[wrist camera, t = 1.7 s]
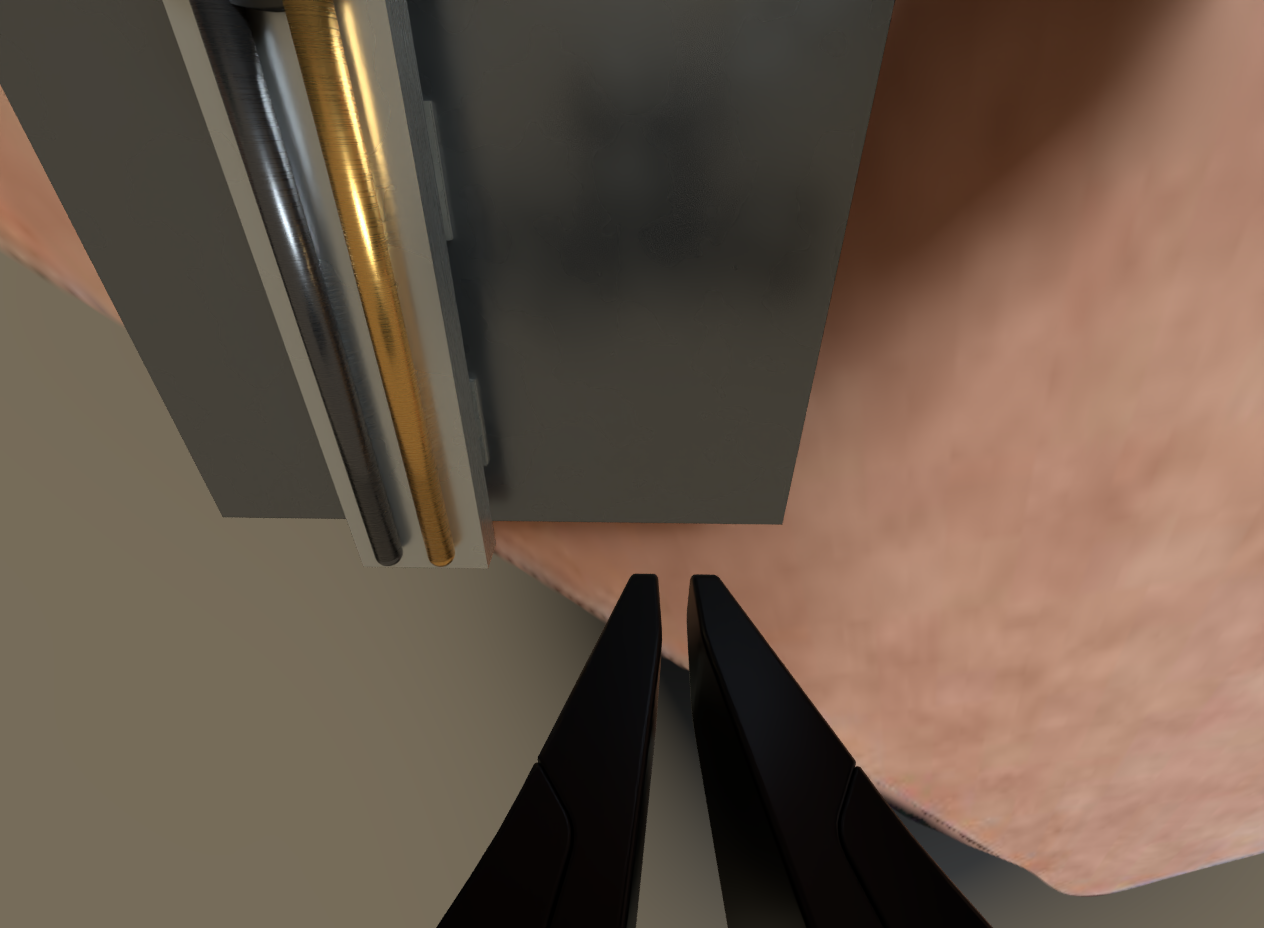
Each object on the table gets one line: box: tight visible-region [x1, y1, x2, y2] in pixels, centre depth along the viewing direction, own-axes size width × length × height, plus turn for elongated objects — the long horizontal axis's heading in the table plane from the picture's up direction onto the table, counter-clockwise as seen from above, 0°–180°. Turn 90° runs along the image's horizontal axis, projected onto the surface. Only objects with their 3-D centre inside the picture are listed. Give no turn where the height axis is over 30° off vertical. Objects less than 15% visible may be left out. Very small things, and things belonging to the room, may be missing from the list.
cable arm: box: [163, 0, 496, 569], centre depth 13 cm, size 4×18×3 cm, turn 179°
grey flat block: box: [0, 0, 895, 524], centre depth 16 cm, size 20×18×4 cm
